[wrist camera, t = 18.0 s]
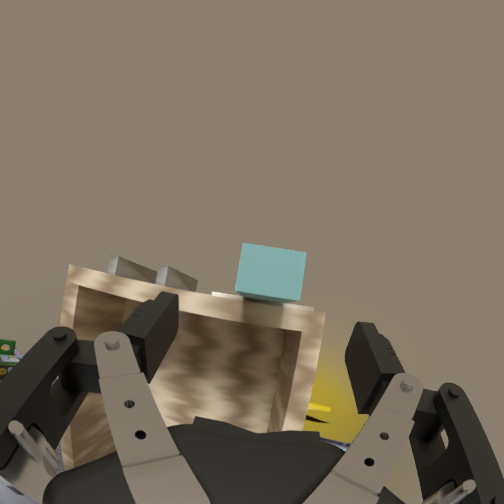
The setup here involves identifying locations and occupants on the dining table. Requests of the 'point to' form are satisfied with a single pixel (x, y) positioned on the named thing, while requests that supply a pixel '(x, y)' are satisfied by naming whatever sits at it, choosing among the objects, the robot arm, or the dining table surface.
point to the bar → (270, 273)
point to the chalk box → (8, 357)
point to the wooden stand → (197, 354)
